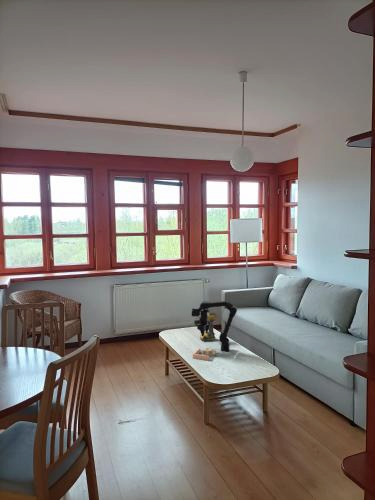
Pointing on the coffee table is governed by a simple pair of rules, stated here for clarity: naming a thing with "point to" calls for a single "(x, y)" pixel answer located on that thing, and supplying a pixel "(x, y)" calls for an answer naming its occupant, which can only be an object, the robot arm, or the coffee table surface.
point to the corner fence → (197, 356)
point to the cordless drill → (209, 335)
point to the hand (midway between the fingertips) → (204, 334)
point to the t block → (209, 352)
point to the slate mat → (208, 355)
